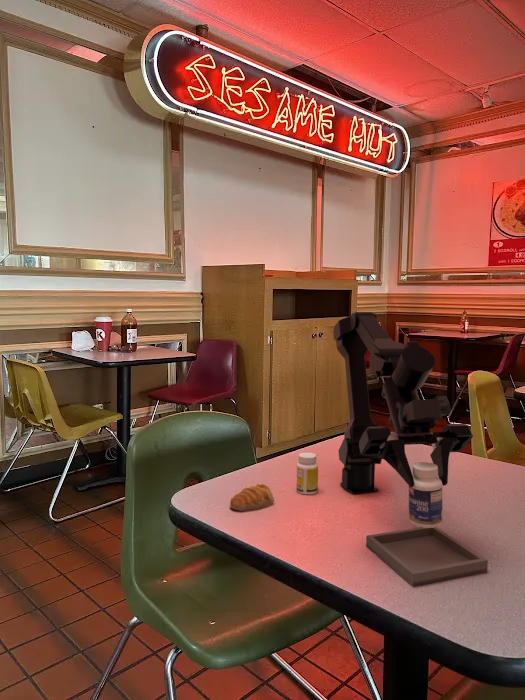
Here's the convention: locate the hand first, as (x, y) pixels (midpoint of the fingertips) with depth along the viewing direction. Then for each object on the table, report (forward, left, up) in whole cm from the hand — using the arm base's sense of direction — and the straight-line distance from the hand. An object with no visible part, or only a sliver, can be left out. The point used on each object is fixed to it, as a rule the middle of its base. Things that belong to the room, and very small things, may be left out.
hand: (429, 485), depth 90 cm
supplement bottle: (+6, -36, -13) cm, 39 cm away
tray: (0, -1, -13) cm, 13 cm away
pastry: (+20, -33, -14) cm, 40 cm away
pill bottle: (-1, -1, -7) cm, 7 cm away
